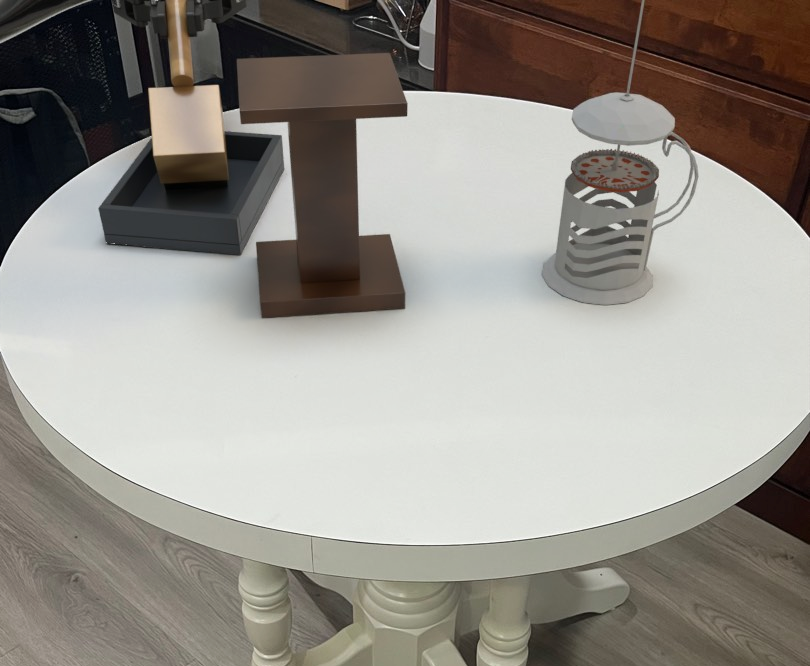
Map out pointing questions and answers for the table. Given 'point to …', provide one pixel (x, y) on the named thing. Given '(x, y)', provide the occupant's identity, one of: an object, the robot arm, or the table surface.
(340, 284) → the stand
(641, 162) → the french press
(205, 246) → the tray
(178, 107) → the brush
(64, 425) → the table surface
